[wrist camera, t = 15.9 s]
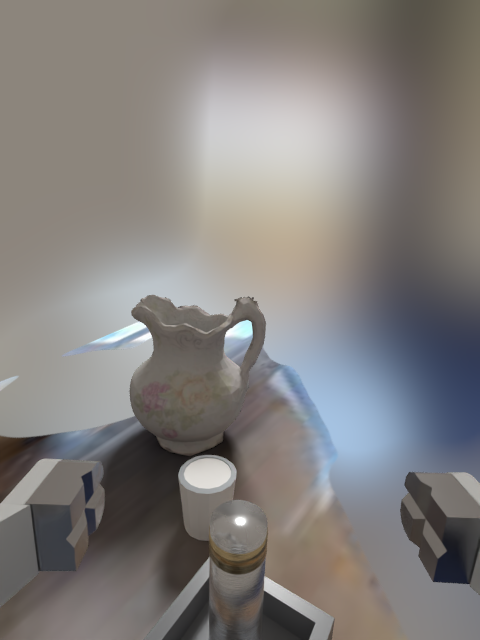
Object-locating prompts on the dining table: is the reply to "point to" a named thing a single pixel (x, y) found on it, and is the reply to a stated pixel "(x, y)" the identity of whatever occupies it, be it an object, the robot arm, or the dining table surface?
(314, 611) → the tray
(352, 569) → the dining table surface
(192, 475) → the shot glass
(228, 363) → the ceramic pitcher
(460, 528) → the robot arm
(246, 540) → the steel pin
